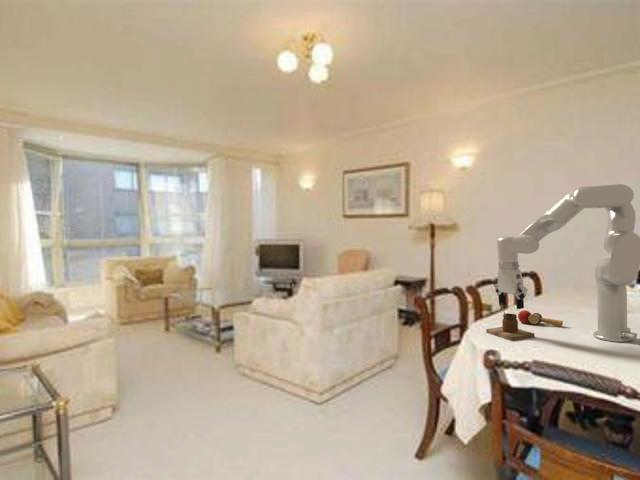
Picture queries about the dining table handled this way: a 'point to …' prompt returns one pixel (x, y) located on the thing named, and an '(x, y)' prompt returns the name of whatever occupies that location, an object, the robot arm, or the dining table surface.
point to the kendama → (536, 318)
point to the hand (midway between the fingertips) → (511, 306)
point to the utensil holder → (510, 322)
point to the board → (510, 334)
